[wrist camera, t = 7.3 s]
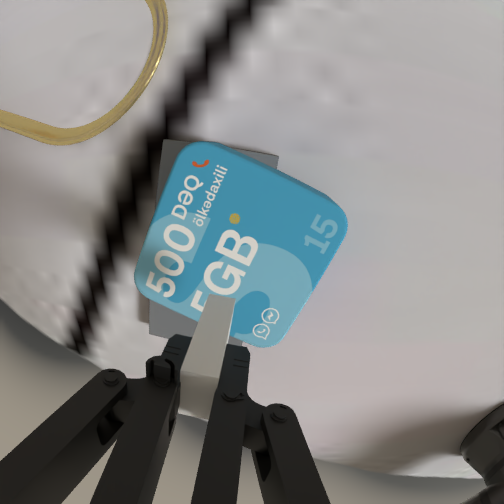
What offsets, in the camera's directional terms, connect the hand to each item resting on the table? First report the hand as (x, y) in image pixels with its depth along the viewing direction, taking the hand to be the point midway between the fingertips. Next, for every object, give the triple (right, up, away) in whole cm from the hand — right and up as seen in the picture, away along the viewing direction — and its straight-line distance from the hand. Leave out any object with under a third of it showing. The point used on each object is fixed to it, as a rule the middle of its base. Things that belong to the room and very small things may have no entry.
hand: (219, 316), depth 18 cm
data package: (+6, +2, +6) cm, 9 cm away
